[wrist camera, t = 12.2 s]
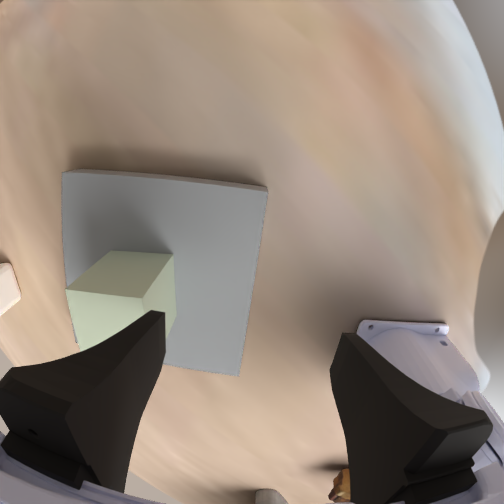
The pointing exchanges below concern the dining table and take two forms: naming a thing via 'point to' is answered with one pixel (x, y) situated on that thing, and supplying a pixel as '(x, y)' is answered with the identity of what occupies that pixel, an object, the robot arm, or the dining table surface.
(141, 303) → the sage block
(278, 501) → the hip flask
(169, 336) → the slate block
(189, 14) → the dining table surface
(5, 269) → the pepper shaker
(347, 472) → the wooden carving
